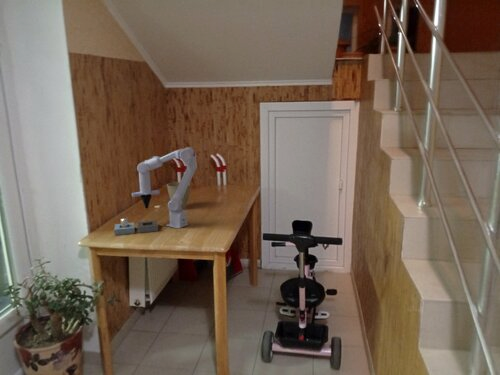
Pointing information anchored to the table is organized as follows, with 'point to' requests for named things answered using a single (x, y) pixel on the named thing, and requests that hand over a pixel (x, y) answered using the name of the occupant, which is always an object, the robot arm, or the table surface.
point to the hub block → (124, 229)
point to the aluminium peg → (124, 222)
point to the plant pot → (172, 190)
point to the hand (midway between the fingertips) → (146, 208)
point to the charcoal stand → (147, 226)
